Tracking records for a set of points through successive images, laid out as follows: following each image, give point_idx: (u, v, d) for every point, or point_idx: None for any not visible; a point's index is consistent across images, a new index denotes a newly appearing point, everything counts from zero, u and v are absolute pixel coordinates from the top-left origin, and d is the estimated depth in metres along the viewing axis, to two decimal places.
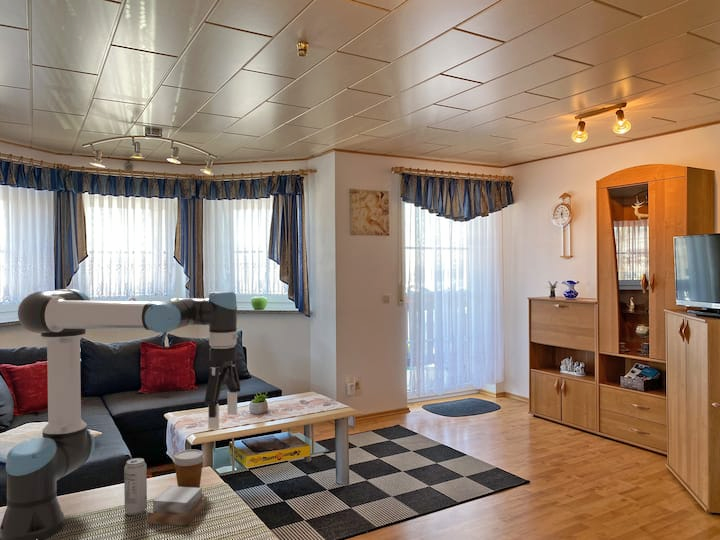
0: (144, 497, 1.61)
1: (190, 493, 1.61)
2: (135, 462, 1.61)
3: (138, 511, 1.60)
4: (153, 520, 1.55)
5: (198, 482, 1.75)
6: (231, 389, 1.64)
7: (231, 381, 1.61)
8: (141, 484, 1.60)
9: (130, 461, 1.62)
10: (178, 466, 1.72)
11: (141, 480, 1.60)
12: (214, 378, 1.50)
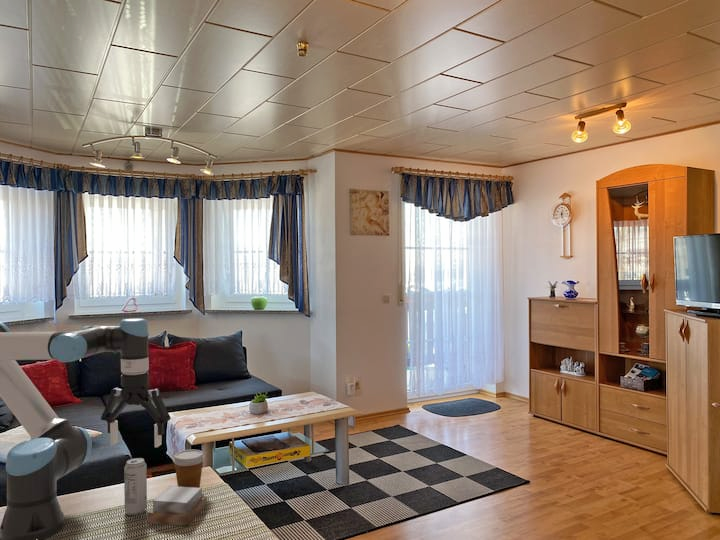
0: (144, 497, 1.61)
1: (190, 493, 1.61)
2: (135, 462, 1.61)
3: (138, 511, 1.60)
4: (153, 520, 1.55)
5: (198, 482, 1.75)
6: None
7: None
8: (141, 484, 1.60)
9: (130, 461, 1.62)
10: (178, 466, 1.72)
11: (141, 480, 1.60)
12: None
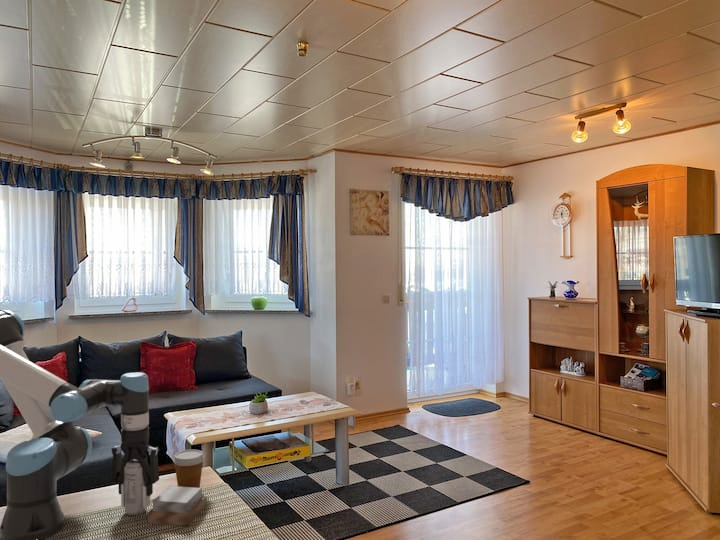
0: None
1: (190, 493, 1.61)
2: (135, 462, 1.61)
3: (138, 511, 1.60)
4: (153, 520, 1.55)
5: (198, 482, 1.75)
6: None
7: None
8: (141, 484, 1.60)
9: (130, 461, 1.62)
10: (178, 466, 1.72)
11: (141, 480, 1.60)
12: None
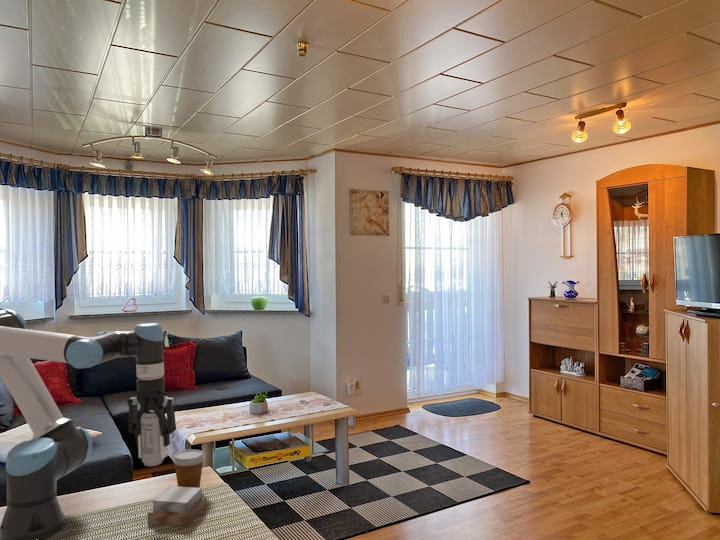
0: None
1: (190, 493, 1.61)
2: (151, 412, 1.60)
3: (156, 461, 1.59)
4: (153, 520, 1.55)
5: (198, 482, 1.75)
6: None
7: None
8: (158, 434, 1.59)
9: (146, 412, 1.61)
10: (178, 466, 1.72)
11: (158, 430, 1.59)
12: None
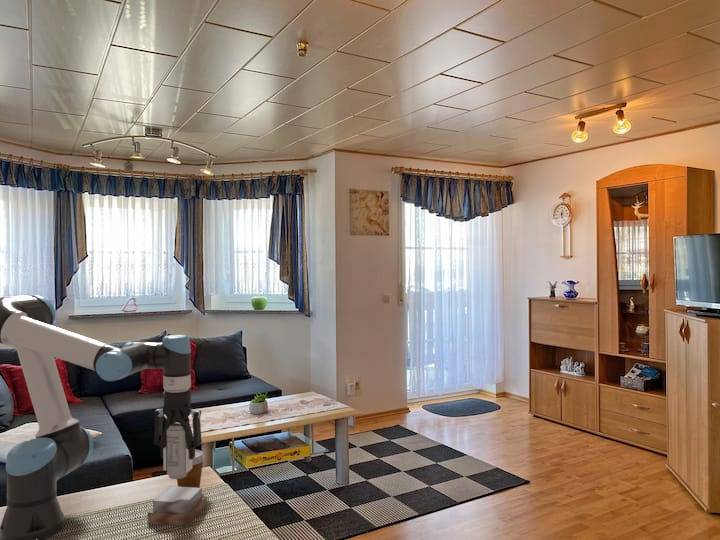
0: None
1: (190, 493, 1.61)
2: (177, 425, 1.59)
3: (181, 474, 1.58)
4: (153, 520, 1.55)
5: (198, 482, 1.75)
6: None
7: None
8: (184, 447, 1.58)
9: (172, 424, 1.60)
10: None
11: (184, 443, 1.58)
12: None
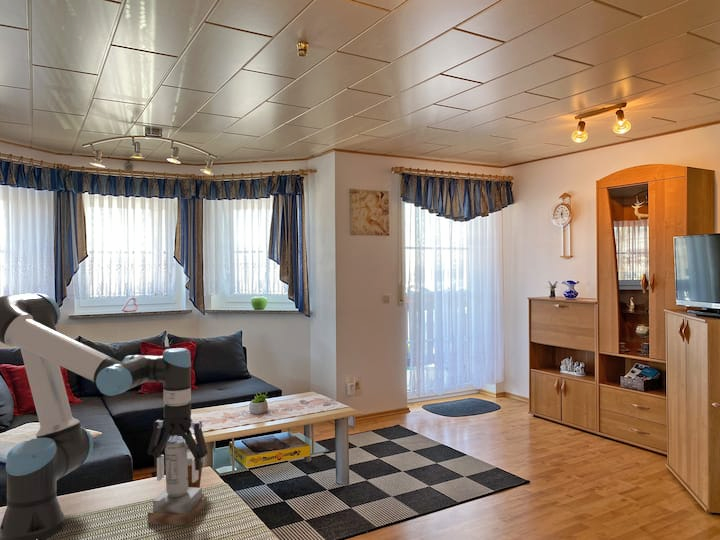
0: (186, 478, 1.59)
1: (190, 493, 1.61)
2: (175, 442, 1.59)
3: (180, 492, 1.58)
4: (153, 520, 1.55)
5: (198, 482, 1.75)
6: None
7: None
8: (183, 465, 1.59)
9: (170, 442, 1.60)
10: None
11: (182, 461, 1.58)
12: None
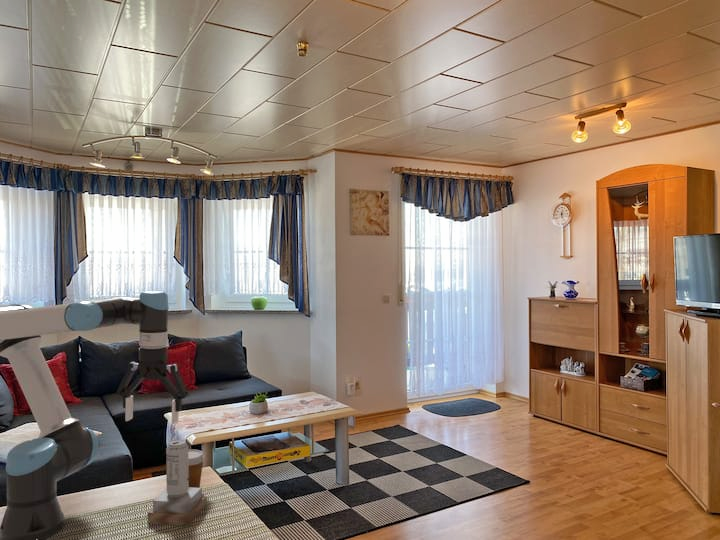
0: (186, 479, 1.59)
1: (190, 493, 1.61)
2: (177, 443, 1.59)
3: (181, 493, 1.58)
4: (153, 520, 1.55)
5: (198, 482, 1.75)
6: None
7: None
8: (184, 466, 1.58)
9: (172, 442, 1.60)
10: None
11: (183, 462, 1.58)
12: None
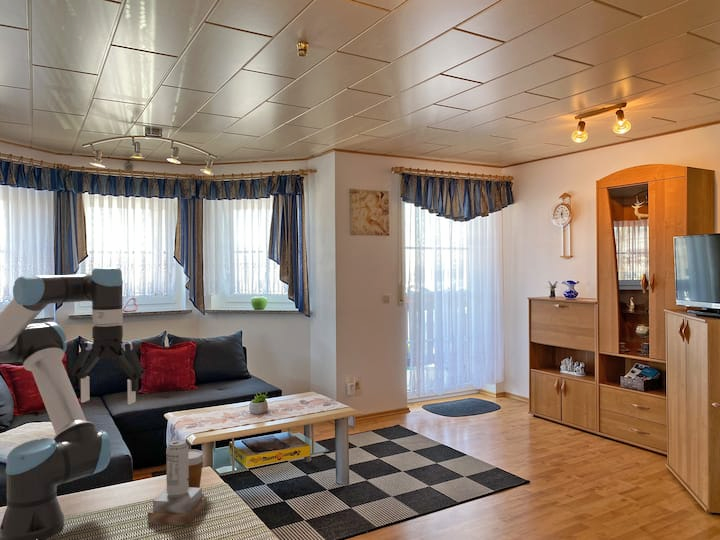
0: (186, 479, 1.59)
1: (190, 493, 1.61)
2: (177, 443, 1.59)
3: (181, 493, 1.58)
4: (153, 520, 1.55)
5: (198, 482, 1.75)
6: None
7: None
8: (184, 466, 1.58)
9: (172, 442, 1.60)
10: None
11: (183, 462, 1.58)
12: None
